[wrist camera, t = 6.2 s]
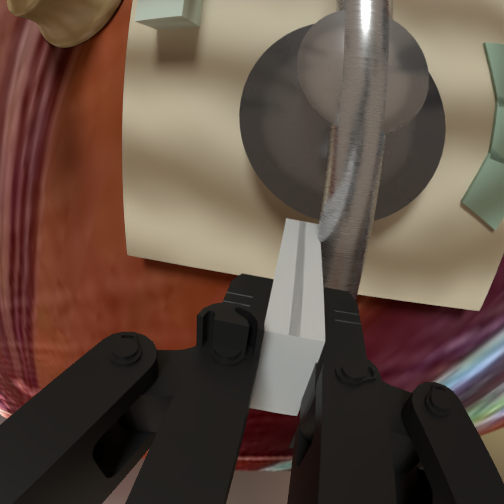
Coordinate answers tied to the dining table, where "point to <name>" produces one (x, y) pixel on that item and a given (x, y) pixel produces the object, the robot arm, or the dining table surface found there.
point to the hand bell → (65, 18)
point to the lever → (344, 127)
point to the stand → (253, 189)
